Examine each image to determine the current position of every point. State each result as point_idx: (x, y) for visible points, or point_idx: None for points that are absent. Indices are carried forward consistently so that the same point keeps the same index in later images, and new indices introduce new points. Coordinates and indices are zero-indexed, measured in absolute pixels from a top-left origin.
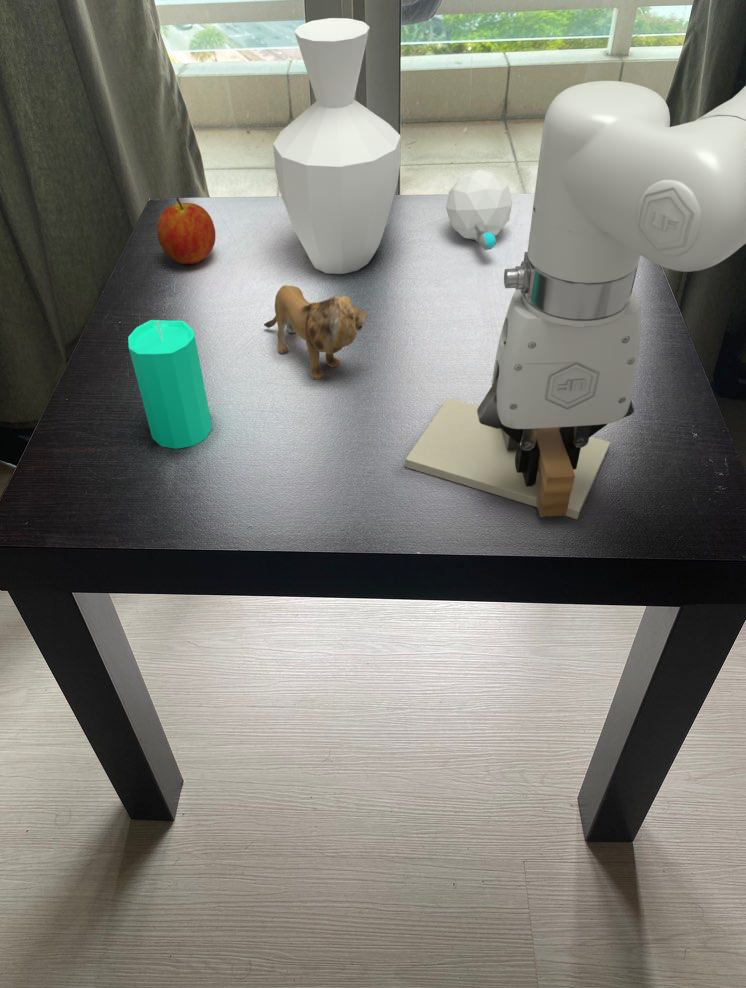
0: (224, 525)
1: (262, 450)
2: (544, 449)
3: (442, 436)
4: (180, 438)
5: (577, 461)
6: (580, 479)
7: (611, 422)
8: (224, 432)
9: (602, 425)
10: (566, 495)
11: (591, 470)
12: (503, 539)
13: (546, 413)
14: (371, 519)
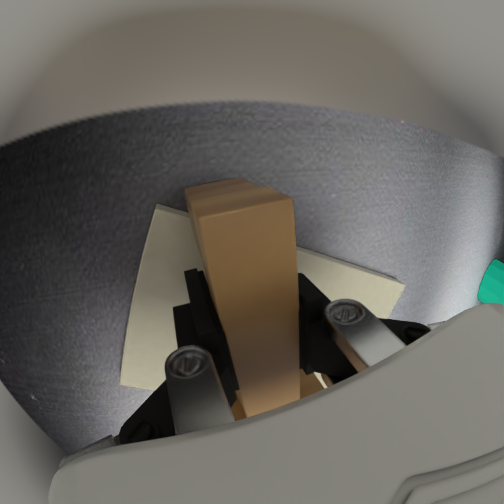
0: (494, 179)
1: (469, 270)
2: (286, 319)
3: None
4: (499, 264)
5: (175, 320)
6: (155, 301)
7: (92, 456)
8: (477, 283)
9: (133, 425)
10: (201, 197)
11: (138, 325)
12: (297, 138)
13: (470, 397)
14: (435, 184)
